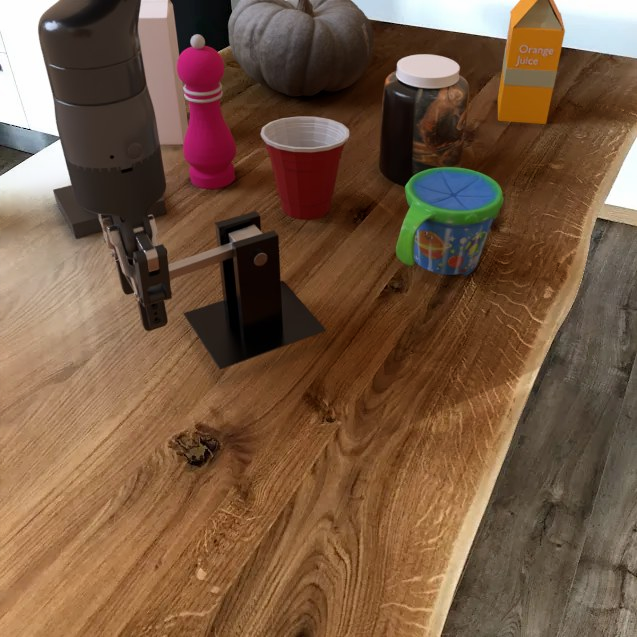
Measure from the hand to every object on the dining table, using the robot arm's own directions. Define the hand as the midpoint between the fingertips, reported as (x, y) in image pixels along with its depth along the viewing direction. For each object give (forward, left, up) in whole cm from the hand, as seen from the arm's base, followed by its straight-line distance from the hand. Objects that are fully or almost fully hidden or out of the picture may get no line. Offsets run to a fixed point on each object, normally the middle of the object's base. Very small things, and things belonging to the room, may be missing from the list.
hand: (144, 307), depth 69 cm
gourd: (+48, +58, -8) cm, 76 cm away
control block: (+5, +32, -7) cm, 33 cm away
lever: (+6, 0, +2) cm, 6 cm away
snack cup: (+36, 0, -8) cm, 37 cm away
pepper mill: (+20, +33, -8) cm, 39 cm away
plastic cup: (+27, +18, -8) cm, 33 cm away
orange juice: (+73, +29, -8) cm, 79 cm away
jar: (+47, +21, -8) cm, 52 cm away
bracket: (+11, 0, -7) cm, 13 cm away
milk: (+19, +49, -8) cm, 53 cm away
